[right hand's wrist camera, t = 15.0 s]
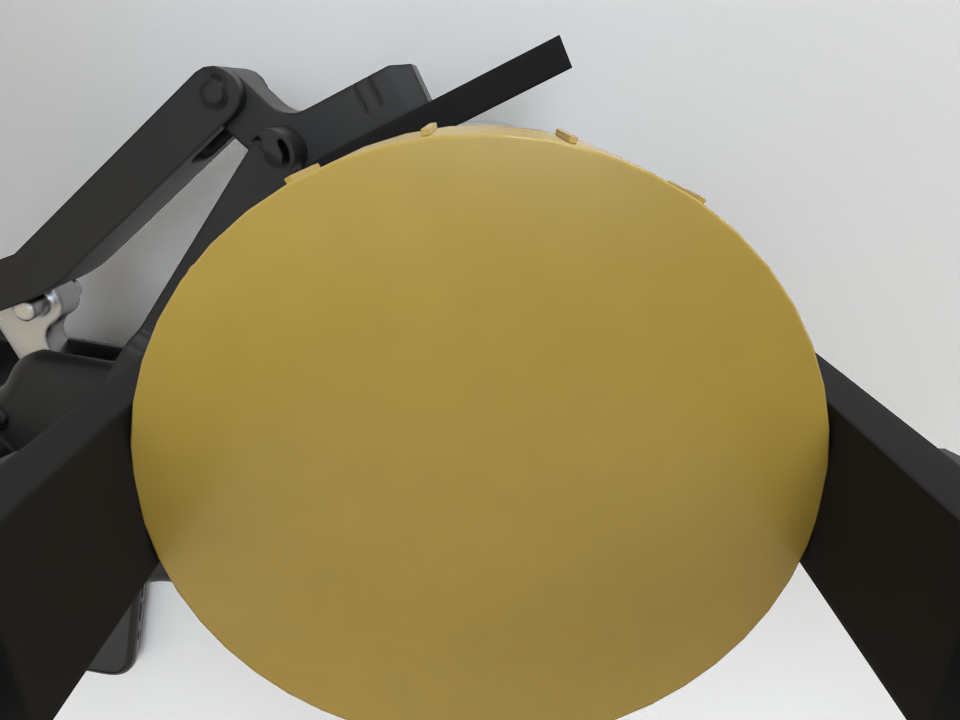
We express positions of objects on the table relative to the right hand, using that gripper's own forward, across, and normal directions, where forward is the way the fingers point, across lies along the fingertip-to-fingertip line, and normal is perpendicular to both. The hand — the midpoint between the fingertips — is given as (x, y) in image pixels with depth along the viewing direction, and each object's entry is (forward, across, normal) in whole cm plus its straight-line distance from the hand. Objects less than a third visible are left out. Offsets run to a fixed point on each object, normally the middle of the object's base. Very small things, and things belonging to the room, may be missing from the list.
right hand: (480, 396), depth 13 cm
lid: (-3, 0, 0) cm, 3 cm away
